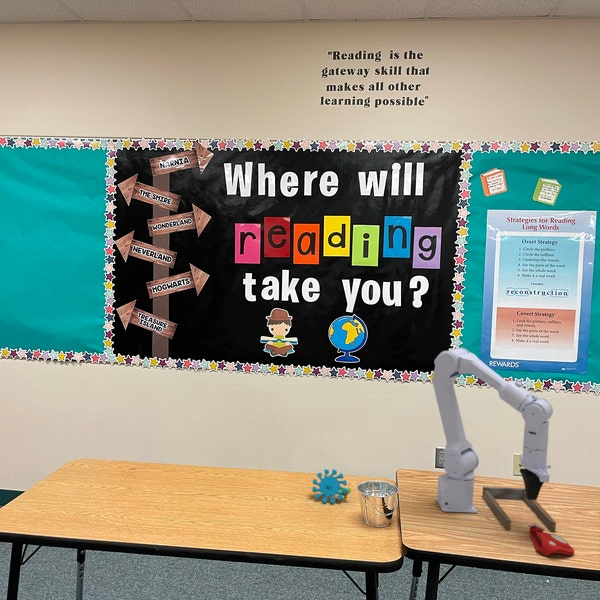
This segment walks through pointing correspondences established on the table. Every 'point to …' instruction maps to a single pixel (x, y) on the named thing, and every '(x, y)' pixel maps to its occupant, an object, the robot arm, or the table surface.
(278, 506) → the table surface
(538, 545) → the tracker holder
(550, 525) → the frame
